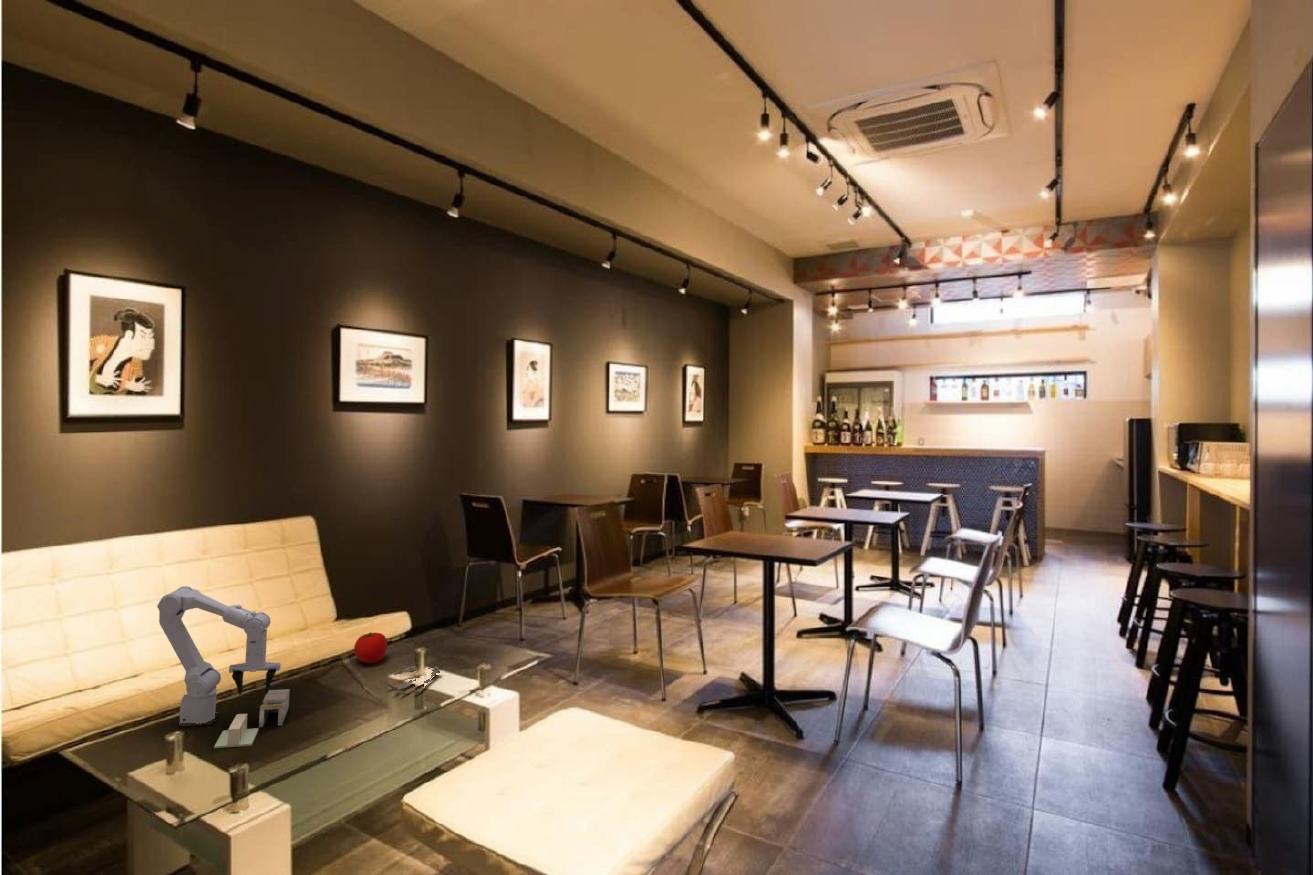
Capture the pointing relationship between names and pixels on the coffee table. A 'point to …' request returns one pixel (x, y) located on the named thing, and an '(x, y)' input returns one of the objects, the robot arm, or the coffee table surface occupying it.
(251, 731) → the pad
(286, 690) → the frame
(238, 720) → the beige rectangular block
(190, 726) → the coffee table surface
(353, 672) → the coffee table surface
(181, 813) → the coffee table surface
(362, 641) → the tomato
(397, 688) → the skeleton model
